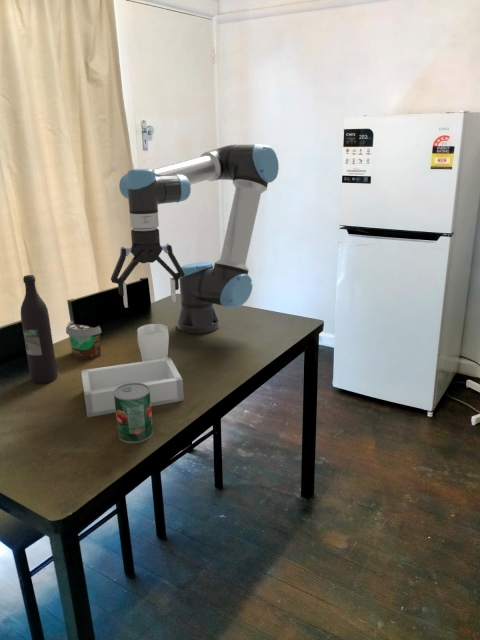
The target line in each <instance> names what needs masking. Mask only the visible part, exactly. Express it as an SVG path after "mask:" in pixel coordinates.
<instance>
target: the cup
mask: <svg viewBox="0 0 480 640" xmlns="http://www.w3.org/2000/svg"><path fill="white" fill-rule="evenodd" d="M169 340H170V336H169V329H168V326H167V325H165V324H162V323H149V324H148V323H147V324H144V325H141V326H139V327H137V344H138V348H139V352H140V356H141V360H142V361H149V360H156V359H163V358H168V353H169V343H170V341H169ZM142 361H141V362H142Z"/></svg>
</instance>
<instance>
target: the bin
mask: <svg viewBox="0 0 480 640" xmlns="http://www.w3.org/2000/svg"><path fill="white" fill-rule="evenodd" d="M80 372H81V380H82V388H83V395H84V404H85V410H86V418H91V417H92V418H94V417H97V416H98V417H99V416H103V415H104V416H105V415H110V414H114V413H115V414H116V408H115V399H114V390H115V389H116V388H118V387H119V386H121V385H124V384H128V383H142V384H145V385H147V386H148V387H149V388H150V401H151V407H154V406H155V407H156V406H162V405H166V404H171V403H177V402H178V403H179V402H183V401H184V400H185V399H184V397H185V395H184V380H183V377H182V375H181V374H180V373H179V372H180V371H178V369H177V367H176V365H175V363H174V362H173V360H172V358H171V357H167V358H163V359H156V360H149V361H136V362H131V363H123V364H116V365H109V366H104V367H96V368H88V369H81V370H80Z"/></svg>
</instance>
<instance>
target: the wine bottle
mask: <svg viewBox="0 0 480 640" xmlns="http://www.w3.org/2000/svg"><path fill="white" fill-rule="evenodd" d="M22 279H23V283H24V287H25V295H24V299H23V301H22V304H21V306H20V321H21V326H22V332H23V339H24V345H25V351H26V357H27V363H28V370H29V377H30V380H31V382H32V383H33V384H39V385H43V384H49V383H52V382H53V381H55V380H57V378H58V371H57V370H58V369H57V364H56V363H57V362H56V355H55V349H54V343H53V335H52V334H53V333H52V329H51V321H50V314H49V311H48V307H47V305H46V303H45V302H44V300H43V298H42V297H41V296H40V295H39V293H38V291H37V287H36V277H35V275H34V274H27V275H23V278H22Z"/></svg>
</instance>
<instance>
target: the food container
mask: <svg viewBox="0 0 480 640" xmlns="http://www.w3.org/2000/svg"><path fill="white" fill-rule="evenodd" d="M65 328H66V329H65V333H66V334H67V335H68V337H69V342H70V346H71V350H72V355H73V357H74V358H75V359H79V360H91V359H95V358H99V357H101V354H102V353H101V352H102V351H101V334H102V328H101V327H100V325H98V326H96V327H92V326H90V325H87V324H77V323H74V322H73V320H71V321H70V322H68V323H67V325H66V327H65Z"/></svg>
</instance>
